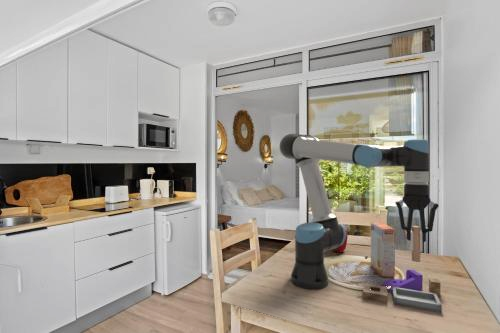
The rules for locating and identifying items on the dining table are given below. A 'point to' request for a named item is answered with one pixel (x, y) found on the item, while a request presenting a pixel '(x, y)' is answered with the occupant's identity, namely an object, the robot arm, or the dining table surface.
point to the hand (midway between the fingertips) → (416, 250)
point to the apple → (343, 246)
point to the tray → (416, 299)
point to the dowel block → (375, 292)
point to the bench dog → (434, 286)
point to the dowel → (416, 244)
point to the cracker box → (383, 249)
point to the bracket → (407, 281)
